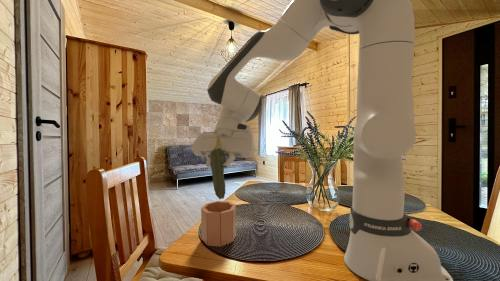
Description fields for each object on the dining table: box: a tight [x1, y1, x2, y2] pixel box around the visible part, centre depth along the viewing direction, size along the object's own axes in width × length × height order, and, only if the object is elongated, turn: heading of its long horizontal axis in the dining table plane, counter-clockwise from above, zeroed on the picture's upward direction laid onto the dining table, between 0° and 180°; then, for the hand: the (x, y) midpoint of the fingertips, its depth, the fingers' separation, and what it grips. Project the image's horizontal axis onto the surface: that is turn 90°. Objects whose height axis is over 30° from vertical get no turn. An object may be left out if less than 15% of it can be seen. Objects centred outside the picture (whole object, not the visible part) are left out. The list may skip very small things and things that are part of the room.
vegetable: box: [210, 136, 226, 200], centre depth 71 cm, size 4×4×20 cm
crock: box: [200, 200, 237, 248], centre depth 73 cm, size 10×10×10 cm
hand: (217, 166), depth 70 cm, fingers closed on vegetable, 4 cm apart
